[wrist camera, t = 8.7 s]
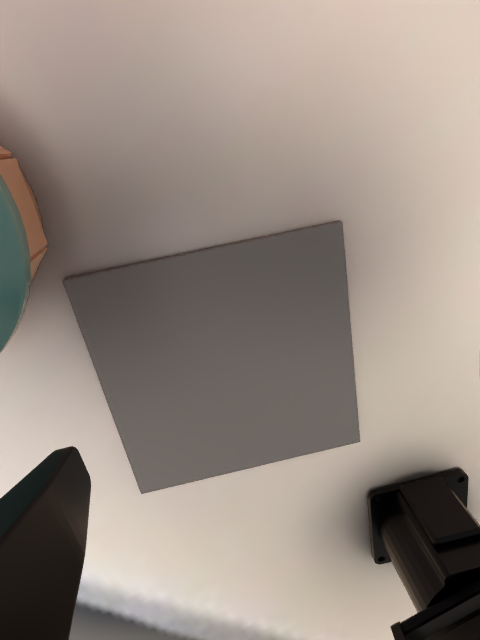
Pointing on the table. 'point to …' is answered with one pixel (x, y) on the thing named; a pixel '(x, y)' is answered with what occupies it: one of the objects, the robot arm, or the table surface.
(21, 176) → the bowl
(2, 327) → the lid
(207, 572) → the table surface
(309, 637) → the table surface
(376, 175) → the table surface
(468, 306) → the table surface
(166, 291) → the mat
